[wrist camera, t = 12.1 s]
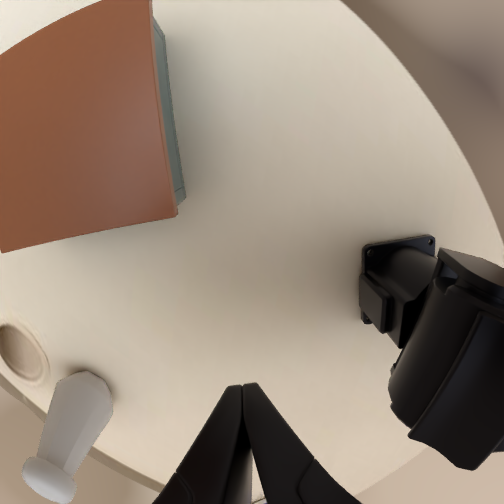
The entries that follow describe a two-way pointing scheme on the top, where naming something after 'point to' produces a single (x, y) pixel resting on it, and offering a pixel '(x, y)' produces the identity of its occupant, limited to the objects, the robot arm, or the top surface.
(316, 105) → the top surface
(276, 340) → the top surface
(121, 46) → the tin lid
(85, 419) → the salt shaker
